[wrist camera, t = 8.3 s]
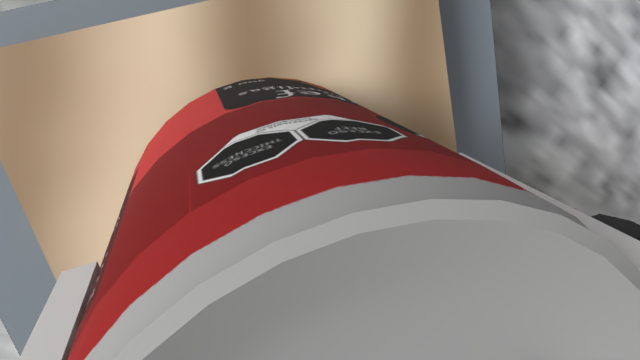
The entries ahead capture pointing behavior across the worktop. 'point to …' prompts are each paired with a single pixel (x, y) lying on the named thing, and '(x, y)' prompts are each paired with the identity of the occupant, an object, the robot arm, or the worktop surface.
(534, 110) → the worktop surface
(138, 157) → the pallet
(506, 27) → the worktop surface
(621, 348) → the canned food
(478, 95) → the dock
